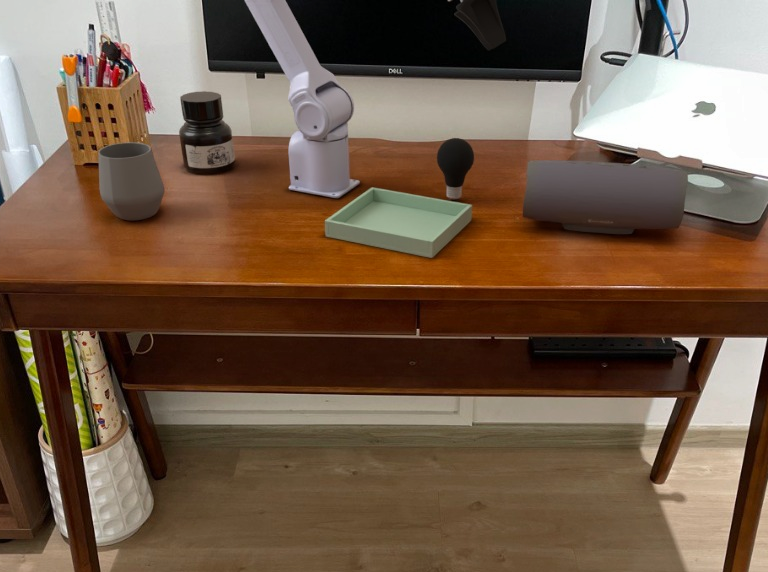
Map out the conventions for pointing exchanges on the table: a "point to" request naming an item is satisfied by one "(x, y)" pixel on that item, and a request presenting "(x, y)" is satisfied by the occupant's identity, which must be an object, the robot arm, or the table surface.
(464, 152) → the light bulb
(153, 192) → the cup
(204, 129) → the ink bottle
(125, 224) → the table surface
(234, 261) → the table surface
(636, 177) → the bluetooth speaker
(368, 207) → the tray
